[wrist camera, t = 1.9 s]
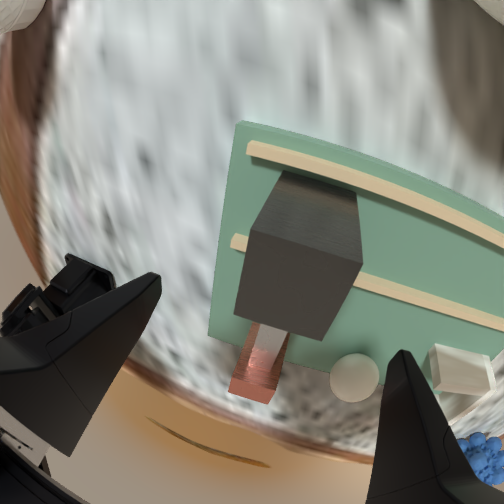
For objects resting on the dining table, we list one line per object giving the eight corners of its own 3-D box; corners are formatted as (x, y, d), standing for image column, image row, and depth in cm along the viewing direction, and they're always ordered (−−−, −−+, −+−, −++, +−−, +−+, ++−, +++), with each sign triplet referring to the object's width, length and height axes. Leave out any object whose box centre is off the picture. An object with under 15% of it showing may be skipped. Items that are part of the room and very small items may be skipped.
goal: (439, 390, 24) (442, 431, 20) (387, 381, 25) (386, 425, 21) (486, 346, 19) (497, 390, 15) (432, 332, 20) (441, 382, 16)
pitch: (450, 387, 23) (452, 402, 22) (212, 326, 26) (204, 342, 25) (561, 255, 13) (572, 270, 11) (242, 120, 15) (231, 126, 14)
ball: (365, 374, 23) (363, 414, 20) (324, 365, 23) (318, 404, 20) (387, 349, 21) (388, 392, 17) (343, 338, 21) (339, 381, 18)
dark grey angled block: (288, 352, 23) (270, 420, 18) (241, 337, 24) (215, 403, 19) (356, 192, 15) (363, 263, 9) (283, 170, 15) (250, 228, 10)
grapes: (510, 412, 24) (517, 482, 14) (504, 426, 26) (508, 489, 17) (441, 434, 30) (440, 506, 20) (442, 446, 32) (440, 509, 23)
